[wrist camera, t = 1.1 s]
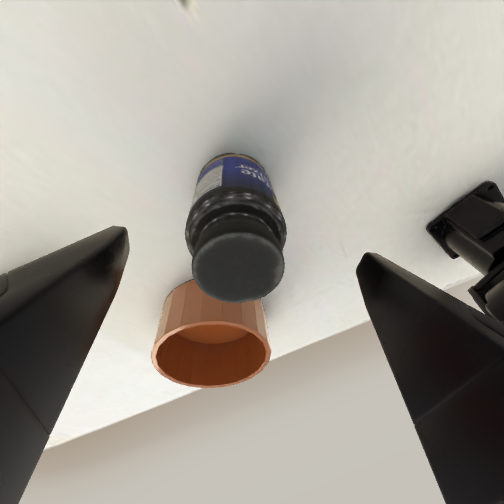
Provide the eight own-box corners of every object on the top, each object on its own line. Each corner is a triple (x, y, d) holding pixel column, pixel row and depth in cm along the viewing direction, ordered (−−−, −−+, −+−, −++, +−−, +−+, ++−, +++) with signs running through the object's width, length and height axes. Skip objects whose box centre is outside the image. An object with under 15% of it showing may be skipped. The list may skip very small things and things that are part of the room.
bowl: (283, 304, 31) (294, 348, 26) (224, 352, 36) (224, 396, 31) (200, 258, 26) (194, 303, 21) (144, 321, 30) (129, 369, 26)
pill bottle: (283, 188, 22) (323, 270, 13) (233, 231, 24) (239, 327, 15) (232, 132, 19) (239, 190, 10) (181, 187, 21) (150, 275, 12)
